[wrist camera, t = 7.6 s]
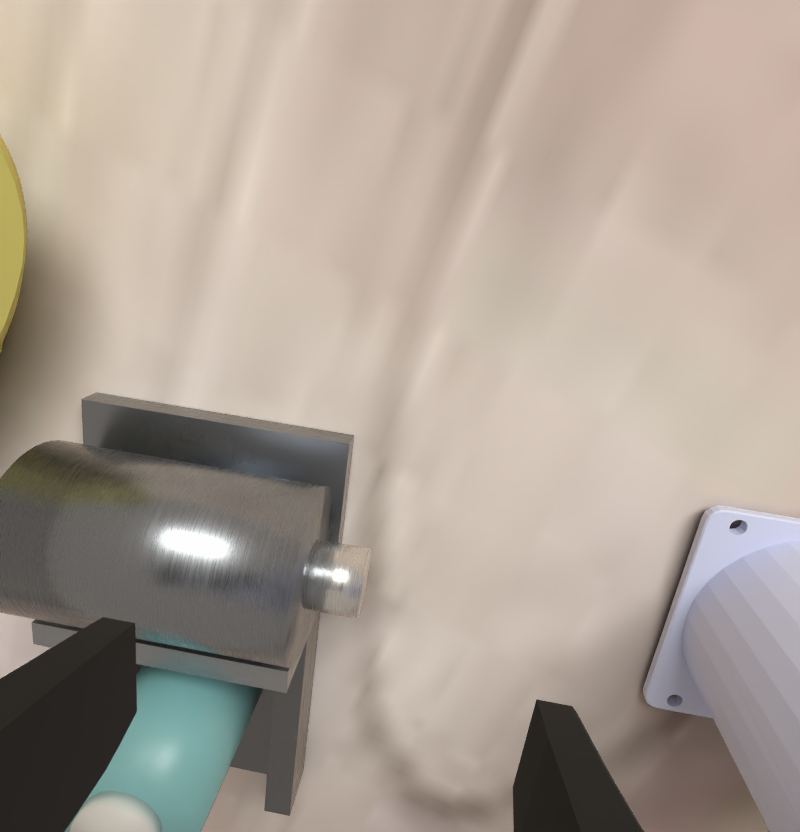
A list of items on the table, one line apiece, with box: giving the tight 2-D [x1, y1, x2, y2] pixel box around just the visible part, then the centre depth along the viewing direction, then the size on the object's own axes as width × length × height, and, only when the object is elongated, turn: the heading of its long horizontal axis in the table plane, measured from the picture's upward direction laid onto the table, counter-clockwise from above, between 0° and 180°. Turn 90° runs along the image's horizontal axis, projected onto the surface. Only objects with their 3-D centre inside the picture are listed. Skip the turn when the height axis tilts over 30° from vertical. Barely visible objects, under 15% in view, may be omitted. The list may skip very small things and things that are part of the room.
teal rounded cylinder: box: [65, 665, 263, 832], centre depth 19 cm, size 4×4×7 cm
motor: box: [0, 393, 371, 816], centre depth 19 cm, size 10×15×6 cm
